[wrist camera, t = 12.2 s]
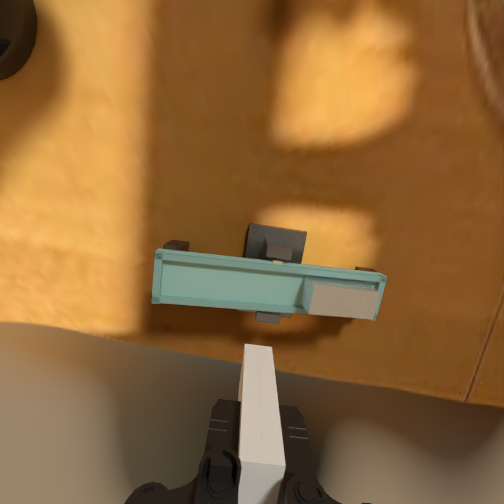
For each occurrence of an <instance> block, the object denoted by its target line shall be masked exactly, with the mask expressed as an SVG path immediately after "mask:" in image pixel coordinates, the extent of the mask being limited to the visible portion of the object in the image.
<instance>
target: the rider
mask: <svg viewBox="0 0 504 504" xmlns="http://www.w3.org/2000/svg"><path fill="white" fill-rule="evenodd" d="M379 295H380V292H379V291H378V290H376V289H375V288H373V287H371V286H370V285H368V284H367V283H365V282H362V281H352V280H343V279H333V278H323V277H313V276H304V279H303V284H302V289H301V294H300V299H299V302H300V303H301V305H302V306H303V307H304V309H305V310H306V311H307V313H308V314H313V315H326V316H339V317H352V318H365V319H373V317H374V314H375V310H376V306H377V302H378V299H379Z"/></svg>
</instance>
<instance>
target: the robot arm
mask: <svg viewBox="0 0 504 504" xmlns="http://www.w3.org/2000/svg"><path fill="white" fill-rule="evenodd" d="M35 37H36V12H35V6H34V2H33V0H0V80H2V79H5V78H7V77H9V76H11V75H12V74H14V73H15V72H17V71H18V70H19V69H20V68H21V67H22V66H23V65H24V63H25V62H26V61H27V59H28V57H29V55H30V53H31V51H32V48H33V45H34V42H35ZM124 504H341V503H339V502H337V501H335V500H334V499H332V498H331V497H330V496H329V495H328V494H326V493H325V491H324V489H323V488H322V486H321V485H320V484H319V482H318V480H317V476H316V473H315V468H314V464H313V460H312V454H311V450H310V445H309V441H308V436H307V432H306V427H305V423H304V418H303V416H302V414H301V413H300V411H299V410H298V408H297V407H292V406H284V405H278V396H277V388H276V379H275V371H274V362H273V354H272V347H268V346H259V345H251V344H245V347H244V355H243V362H242V369H241V377H240V384H239V397H238V401H231V400H222V399H219V400H218V401H217V402H216V404H215V405H214V407H213V408H212V414H211V419H210V424H209V430H208V436H207V441H206V446H205V452H204V455H203V457H202V459H201V462H200V465H199V473H198V475H197V476H196V477H195V478H194V479H193V481H192V482H190V483H188V484H187V485H185V486H182V487H179V488H176V489H172V490H168V489H167V488H166V487H165V486H163V485H162V484H161V483H154V482H151V483H147V484H143V485H142V486H140V487H139V488H137V489H135V490H134V492H133V493H132V494H131V495H130V496H129V497H128V499H127V500H126V502H125V503H124ZM362 504H371V503H362Z"/></svg>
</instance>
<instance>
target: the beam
mask: <svg viewBox="0 0 504 504" xmlns="http://www.w3.org/2000/svg"><path fill="white" fill-rule="evenodd" d="M304 276H313V277H323V278H333V279H343V280H352V281H362V282H365V283H367V284H368V285H370V286H371V287H373V288H375V289H376V290H378V291H379V292H380V295H379V299H378V302H377V306H376V310H375V314H374V317H373V319H370V320H376V317H377V314H378V310H379V306H380V302H381V299H382V295H383V291H384V288H385V284H386V280H387V276H385V275H383V274H381V273H379V272H370V271H360V270H351V269H342V268H333V267H324V266H315V265H305V264H296V263H287V262H282V261H280V260H279V259H275V260H272V261H269V260H260V259H250V258H241V257H232V256H223V255H214V254H205V253H195V252H186V251H177V250H168V249H159V248H158V249H157V250H156V251H155V261H154V275H153V289H152V303H155V304H159V303H165V304H178V305H191V306H204V307H217V308H230V309H243V310H256V311H269V312H283V313H296V314H308V313H307V311H306V310H305V309H304V307H303V306H302V305H301V303H300V302H299V299H300V294H301V289H302V284H303V279H304ZM309 315H313V314H309ZM322 316H326V315H322ZM335 317H339V316H335ZM348 318H352V317H348ZM361 319H365V318H361Z"/></svg>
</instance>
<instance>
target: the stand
mask: <svg viewBox="0 0 504 504" xmlns="http://www.w3.org/2000/svg"><path fill="white" fill-rule="evenodd" d="M306 235H307V232H306V231H300V230H293V229H286V228H279V227H273V226H266V225H259V224H252V223H250V227H249V234H248V241H247V248H246V254H245V258H250V259H260V260H269V261H272V260H275V259H279V260H280V261H282V262H287V263H296V264H301V261H302V256H303V251H304V246H305V240H306ZM163 249H168V250H177V251H186V252H188V249H189V242H185V241H178V240H171V241H169V242H168V243H166V244H164V246H163ZM356 270H360V271H370V272H377V271H375V270H373V269H369V268H362V267H356ZM237 311H244V312H251V313H256V321H259V322H267V323H274V324H279V323H280V317H286V318H291V313H283V312H269V311H256V310H243V309H237Z"/></svg>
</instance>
